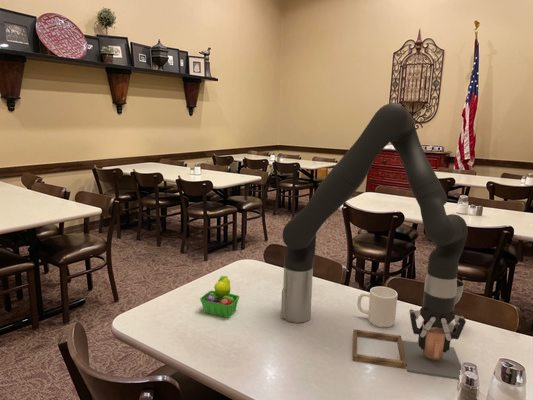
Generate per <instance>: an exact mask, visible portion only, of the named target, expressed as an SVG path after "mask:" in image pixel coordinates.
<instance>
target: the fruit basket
mask: <svg viewBox="0 0 533 400" xmlns="http://www.w3.org/2000/svg"><path fill="white" fill-rule="evenodd" d="M231 288H232V287H231V281H230V279H229V278H228V276H227V275H221V276H220V277H219V279H218V280H217V282H216V283H215V284H214V290H210V291H208V292H206V293H205V294H203V296H202V297H200V298H199V300H200V302H201V305H202V308H203V311H204V313H206V314H210V315H211V314H212V315H214V316H215V315H216V316H220V317H224V318H230V316H232V315H233V314H234V313H235V312H236V309H237V305H238V302H239V299H240V295H237V294H233V293H231V290H232V289H231Z"/></svg>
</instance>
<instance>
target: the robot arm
mask: <svg viewBox="0 0 533 400" xmlns="http://www.w3.org/2000/svg"><path fill="white" fill-rule="evenodd" d="M420 141H421V140H420V138H419V136H418V132H417V129H416V125H415V121H414V117H413V116H412V114H411V113H410V112H409V111H408V110H407V109H406V107H404V106H403V105H401V104H400V103H395V102H391V103H387V104H384V105H383V106H382V107H380V108H379V109H378V110H377V111H376V112H375V113H374V114H373V116H372V118H371V120H370V121H369V122H368V124H367V125H366V127H365V128H364V130H362V132H361V134H360V135H359V137H358V138H357V140H356V141H355V142H354V143H353V144H352V145H351V147H350V148H349V149H348V150H347V151H346V153H345V154H344V155H343V156H342V157H341V159H340V160H338V162H337V163H336V164H335V165H334V166H333V168H331V170H330V171H329V173H327V175H326V176H325V178H323V180H322V181H321V183H320V184H319V186H317V189H315V191H314V193H313V194H312V196H311V197H310V199H309V201H308V202H307V203H306V204H305V206H304V207H303V208H302V209H301V210H300V211H299V212H298V213H297V214H296V215H295V216H293V217H292V218H291V219H290V220H288V222H286V224H285V225H284V227H283V230H282V234H281V235H282V241H283V244H284V245H285V247H286V252H285V254H284V260H283V284H282V286H283V288H282V289H281V306H280V309H281V310H280V319H284V320H285V321H288V322H290V323H295V324H300V323H305V322H308V321H310V319H311V316H312V315H311V314H312V297H313V296H312V295H313V275H314V273H313V272H314V261H315V255H316V245H317V244H316V243H317V233H318V231H319V229H320V228H321V227H322V226H323V225H324V223H325V222H326V221H327V219H329V218H330V217H331V216H332V215H334V213H336V212H337V211H338V210H339V209H340V208H341V207H342V206H343V205H344V204H345V203H346V202H347V201H348V200H349V199H350V198H351V197H352V196H353V195H354V194H355V192H356V191H357V190H358V189H360V187H361V185H362V184H363V182H364V181H365V179H366V178H367V176H368V173H369V172H370V169H371V167H372V165H373V163H374V161H375V160H376V158H377V156H378V155H379V154H380V153H381V151H383V150H384V148H385V147H387V146H388V144H389V143H390V144H391V146H393V149H395V151H396V153H397V155H398V156H399V159H400V160H401V163H402V166H403V169H404V172H405V176H406V179H407V182H408V185H409V188H410V190H411V192H412V194H413V196H414V199H415V201H416V202H417V204H418V206H419V210H420V216H421V219H422V220H421V221H422V224H423V229H424V231H425V234H426V235H427V238H429V240H430V241H431V242H432V243H433V244H435V245H436V247H435V249H433V250H432V251H430V254H429V256H428V262H427V270H426V276H425V279H424V287H423V288H424V289H423V296H422V297H423V298H422V305H421V308H420V309H419V310H414V309H412V308H411V309H409V317H410V323H411V330H412V333H413V334H414V335H418V339H417V342H418V344H419V347H421V349H423V350H424V347H425V335H426V333H427V331H429V329H430V328H431V327H438V328H441V329H443V330H444V333H445V342H444V350H443V352H445V353H446V352H447V351H449V348H450V347H451V346H450V345H451V341H452V340H459V339H460V336H461V334H462V331H463V329H464V327H465V325H466V322H467V320H466V319H465V317H464V316H463V315H462V314H459V315H457V314H455V312H454V311H455V305H456V304H455V296H456V292H457V279H458V271H459V263H460V258H461V256H462V253H463V251H464V249H465V245H466V242H467V238H468V233H469V232H468V231H469V230H468V225H467V222H466V220H465V219H464V218H463V217H462V216H461V215H458V214H454V213H451V214H447V211H446V208H445V205H446V204H447V203H448V197H447V193H446V192H445V190H444V188H443V185H442V184H441V181H440V180H439V178H438V176H437V174H436V172H435V170H434V168H433V166H432V165H431V163H430V160H429V159H428V157H427V156H426V154H425V152H424V149H423V146H422V144H421V142H420ZM420 316H421V317H422V319H423V320H422V323H421V326H420V327H418V325H417V324H418V323H417V320H419V319H420V318H419V317H420ZM453 321H454V323H455V324H454V325H455V326H454V328H453V331H452V332H449V328H448V324H449V323H452V322H453Z"/></svg>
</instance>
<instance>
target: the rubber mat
mask: <svg viewBox="0 0 533 400" xmlns="http://www.w3.org/2000/svg"><path fill="white" fill-rule="evenodd" d="M402 343H403V348H404V353H405V358H406V363H407V365H406V372H408V373H414V374H419V375H427V376H433V377H439V378H440V377H441V378H447V379H452V380H453V379H454V380H458V379H459V375H460V370H461V367H462V364H461V362H460V359H459V358H458V355H457V352H456V350H455V347H454V346H450V348H449V351H447V352H446V353H445V352H443V357H442V358H441V359H438V360H435V359H431V358H428V357H426V356H425V355H424V354H423V349H421V347H419V344H418V341H417V342H415V341H409V340H403V339H402ZM462 368H463V367H462Z"/></svg>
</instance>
